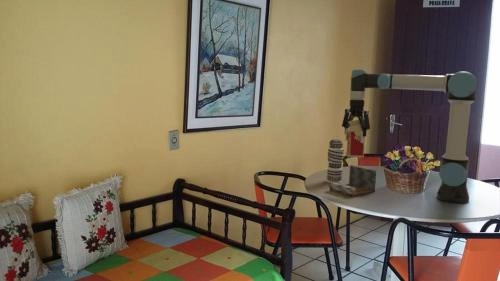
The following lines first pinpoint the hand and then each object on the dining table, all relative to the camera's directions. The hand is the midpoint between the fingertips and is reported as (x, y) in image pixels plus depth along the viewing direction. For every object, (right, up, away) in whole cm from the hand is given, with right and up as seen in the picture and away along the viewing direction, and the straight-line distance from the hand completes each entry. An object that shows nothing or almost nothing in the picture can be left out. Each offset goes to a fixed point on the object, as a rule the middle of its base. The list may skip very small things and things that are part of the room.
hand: (354, 141), depth 230 cm
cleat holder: (-1, -27, +4) cm, 27 cm away
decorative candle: (-6, -24, +25) cm, 35 cm away
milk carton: (0, -8, +1) cm, 8 cm away
